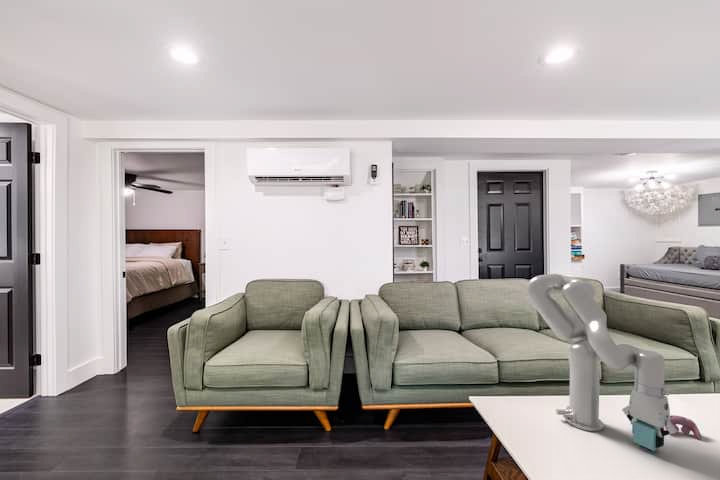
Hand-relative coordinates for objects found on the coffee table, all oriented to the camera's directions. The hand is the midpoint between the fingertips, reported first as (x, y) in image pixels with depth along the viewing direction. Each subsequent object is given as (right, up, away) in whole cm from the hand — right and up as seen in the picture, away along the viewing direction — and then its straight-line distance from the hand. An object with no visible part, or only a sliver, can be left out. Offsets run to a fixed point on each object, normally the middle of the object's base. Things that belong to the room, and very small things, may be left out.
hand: (647, 441), depth 115 cm
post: (0, -3, 0) cm, 3 cm away
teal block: (0, -1, 0) cm, 1 cm away
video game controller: (+20, -3, +9) cm, 22 cm away
